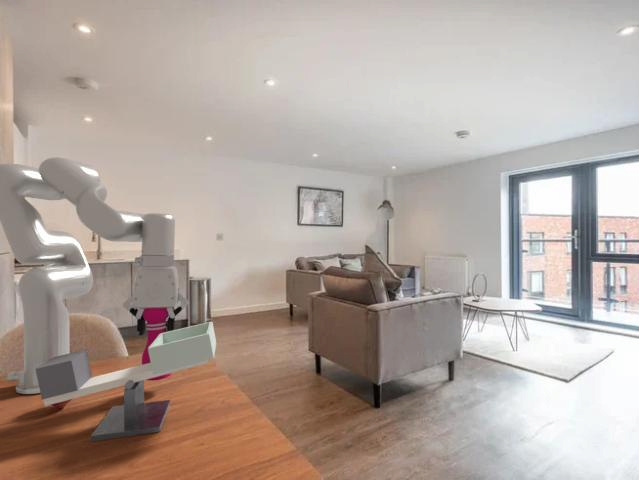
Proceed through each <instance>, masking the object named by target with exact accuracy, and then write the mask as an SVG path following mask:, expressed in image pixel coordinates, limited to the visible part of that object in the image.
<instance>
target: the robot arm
mask: <svg viewBox="0 0 639 480" xmlns="http://www.w3.org/2000/svg"><path fill="white" fill-rule="evenodd" d="M100 177H101V176H100V174H99V171H97V169H95V168H94V167H93V166H90V165H89V164H86V163H82V162H79V161H75V160H72V159H69V158H65V157H59V156H58V157H49V158H47V159H45V160H43V161H42V162H41V163H40V164H39V168H37V167H33V166H29V165H24V164H18V163H9V162H7V163H0V223H1V227H2V229H3V232H4V235H5V237H6V240H7V242H8V245H9V246H10V249H11V252H12V255H13V257H14V258H15V260H16V261H17V262H18V263H20V264H21V265H22V264H23V265H27V266H37V265H47V266H38V267H35V268H34V267H33V268H31V269H29V270H27V271H25V272H24V274H22V275H21V277H20V278H19V281H18V292H19V296H20V300H21V304H22V311H23V369H22V370H19V371H18V370H17V371H15V370H14V371H8V372H7V375H6V382H14V381H16V382H18V383H17V384H16V386H15V392H16V393H18V394H22V395H37V394H41V393H40V388H39V384H38V379H37V374H36V368H38V367H39V366H41V365H43V364H44V363H46V362H47V361H49V360H50V359H52V358H54V357H57V356H61V355H65V354H70V353H71V352H70V346H71V345H70V342H71V341H70V334H71V332H70V331H71V329H70V328H71V327H70V326H71V325H70V314H69V310H68V309H67V307H66V305H65V304H64V303H63V300H65V299H73V298H78V297H80V296H84V295H86V294H88V293H89V292H90V291H91V289H92V288H93V285H94V276H93V272H92V269H91V267H90V265H89V262H88V259H87V257H86V254H85V252H84V250H83V246H82V245H81V243H80V241H79V240H78V239H77V237H76V236H74V235H73V234H71V233H69V232H66V231H62V230H50V229H48V228H47V227H46V225H45V223H44V221H43V218H42V216H41V214H40V212H39V210H37V208H35V206H34V205H32V203H30V202H29V201H28V200H27V199H26V198H32V199H38V200H46V201H60V200H66V201H68V202H70V204H72V205H73V206H75V211H76V214H77V218H78V220H79V221H80V222H81V223H82V225H84V226H85V227H86V228H87V229H89V230H90V231H91V232H93V233H94V234H95V235H97V236H98V237H100V238H101V239H104V240H106V241H109V242H128V243H129V242H130V243H138V242H139V243H140V242H141V255H140V256H139V257H135V258H134V263H135V264H139V265H140V267H137V268H136V272H135V277H134V282H133V284H134V285H133V292H132V295H130V296H129V298H128V299H127V300H126V301H124V302H123V303H122V306H123V308H125V309H126V310H127V311H129V313H130V314H131V315H132V316H134V317H135V320H137V321H136V331H137V332H138V334H139V336H143V335H144V334H145V333H146V323H147V321H146V320H145V319H144V318H143V312H144V309H148V308H167V311H168V313H169V316H168V318H167V319H166V321H167V327H166V332H169V331H173V330H176V329H175V327H176V326H175V324H176V316H177V315H178V314H180V313H181V312H182V311H183V310H184V309H185V308H186V307H187V306H188V305H189V304H190V301H189V300H188V299H187V298H186V297H185V296H184V295H183V294H182V293H181V292H180V285H179V274H178V269H177V268H178V267H176V266H175V233H176V230H175V229H176V220H175V216H173V215H172V214H168V213H159V212H153V213H152V212H150V213H146V214H145V213H143V214H142V213H139V212H130V211H125V210H116V209H115V208H113V207H112V206H111V205H109V204H107V203H106V202H105V201H106V199H107V196H108V191H107V187H105V185H104V184H103V183H101V178H100ZM179 302H181V304H180V305H179V306H177V305H178V303H179ZM175 306H177V307H176V308H175Z"/></svg>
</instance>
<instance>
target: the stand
mask: <svg viewBox="0 0 639 480" xmlns="http://www.w3.org/2000/svg"><path fill="white" fill-rule="evenodd" d="M123 403H124V404H123V405H115V406H113V405H112V406H111V408H110V410H109V411H108V412H107V414H106V415H105V416H104V418H102V420H101V421H100V422H99V424H98V425H97V427H96V428H95V429H94V430H93V432H92V433H91V435H90V442H95V441H102V440H111V439H118V438H125V437H131V436H139V435H141V436H142V435H146V434H147V435H148V434H154V433H160V432H161V430H162V426H163V424H164V421H165V419H166V417H167V414H168V411H169V409H170V407H171V399H168V400H158V401H157V400H156V401H149V402H145V380H142V381H139V382H135V384H134V385H133V387H132V388H131V389H129V390H127V389H126V388H125V387H124V390H123Z"/></svg>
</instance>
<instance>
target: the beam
mask: <svg viewBox="0 0 639 480" xmlns="http://www.w3.org/2000/svg"><path fill="white" fill-rule="evenodd" d="M214 328H215V327H214V322H213V321H208V322H205V323H199V324H196V325H191V326H187V327H182V328H178V329H174V330H172V331H169V332H167V331H166V332H164V333H160V334H159V336H158V337H157V338H156V339H155V340H154V342H153V343H152V344H151V345H150V347H149V348H148V352H149V357H150V362H151V363H148V364H144V365H142V364H140V365H136V366H132V367H128V368H125V369H124V368H123V369H120V370H115V371H113V372H108V373H105V374H104V373H103V374H99V375H96V376H93V375H92V370H91V365H90V360H89V355H88V350H87V349H83V350H78V351H74V352H70V354H65V355H61V356H57V357H54V358H52V359H50V360H49V361H47V362H46V363H44V364H43V365H41V366H39V367H38V368H36V374H37V379H38V384H39V388H40V393H39V394H40V396H41V397H40V398H41V400H43V404H44V407H48V406H52V405H51V404H55V403H58V402H62V401H66V400H70V399H72V400H74V399H77V398H80V397H84V396H89V395H93V394H96V393H99V392H103V391H107V390H111V389H116V388H118V387H119V388H120V387H123V386H124V389H125V388H126V389H127V390H129V389H131V388H132V387H133V385H134V384H135V382H139V381H142V380H144V381H147V380H146V379H150V378H154V377H158V376H161V375H165V374H169V373H176V372H180V371H184V370H188V369H192V368H195V367H200V366H202V365H207V364H208V361H210V360H214V359H215V354H216V349H217V340H216V334H215V329H214Z"/></svg>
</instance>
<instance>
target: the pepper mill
mask: <svg viewBox="0 0 639 480" xmlns="http://www.w3.org/2000/svg"><path fill="white" fill-rule="evenodd" d="M143 318H144V319H145V320H146V328H145V331H146V330H147V342H146V344H145V347H144V350H143V353H142V356H141V365H144V364H148V363H151V362H150V357H149V352H148V348H149V347H150V345H151V344H152V343H153V342H154V340H155V339H156V338H157V337H158V336H159V334H160V333H164V332H167V319H168V318H169V313H168V311H167V308H148V309H144V312H143ZM171 375H172V373H169V374H165V375H161V376H158V377H154V378H150V379H146V380H145V381H152V382H153V381H160V380H163V379H166V378H168V377H170V376H171Z"/></svg>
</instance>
